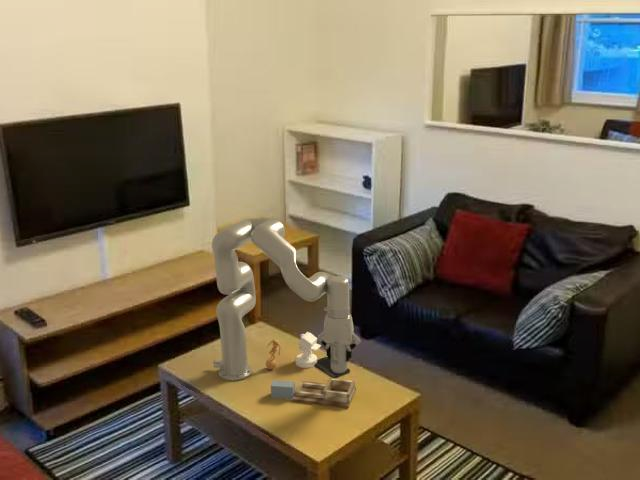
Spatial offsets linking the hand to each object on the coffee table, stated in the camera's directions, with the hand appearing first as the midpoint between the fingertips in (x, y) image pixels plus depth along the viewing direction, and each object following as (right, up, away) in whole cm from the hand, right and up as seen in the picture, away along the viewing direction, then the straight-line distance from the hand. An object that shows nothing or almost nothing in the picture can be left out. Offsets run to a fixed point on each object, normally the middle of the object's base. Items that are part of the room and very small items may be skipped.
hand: (339, 358), depth 249 cm
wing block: (-20, -15, +7) cm, 26 cm away
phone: (-2, -9, +26) cm, 27 cm away
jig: (-5, -14, +6) cm, 17 cm away
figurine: (-25, -8, +26) cm, 37 cm away
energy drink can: (0, -4, +1) cm, 5 cm away
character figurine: (-12, -7, +30) cm, 33 cm away
